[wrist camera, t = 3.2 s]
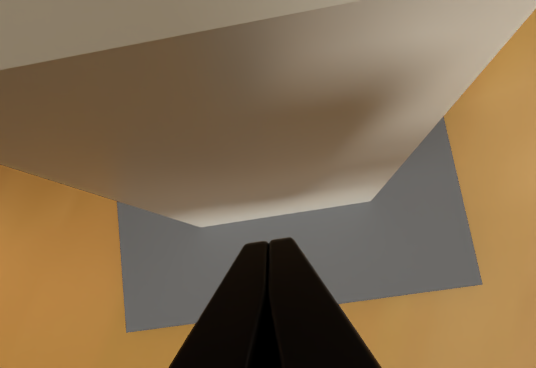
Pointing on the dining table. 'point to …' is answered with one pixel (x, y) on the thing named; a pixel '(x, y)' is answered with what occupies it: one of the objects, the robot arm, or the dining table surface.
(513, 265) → the dining table surface
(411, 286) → the mat
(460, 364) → the dining table surface
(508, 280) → the dining table surface
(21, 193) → the dining table surface
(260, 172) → the domino
